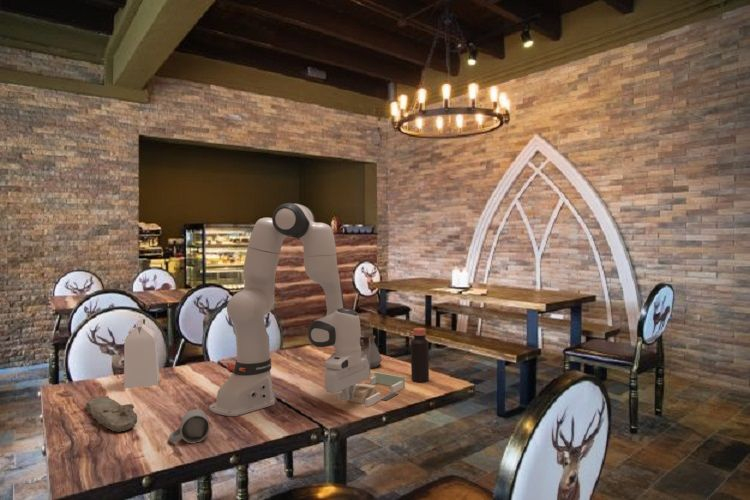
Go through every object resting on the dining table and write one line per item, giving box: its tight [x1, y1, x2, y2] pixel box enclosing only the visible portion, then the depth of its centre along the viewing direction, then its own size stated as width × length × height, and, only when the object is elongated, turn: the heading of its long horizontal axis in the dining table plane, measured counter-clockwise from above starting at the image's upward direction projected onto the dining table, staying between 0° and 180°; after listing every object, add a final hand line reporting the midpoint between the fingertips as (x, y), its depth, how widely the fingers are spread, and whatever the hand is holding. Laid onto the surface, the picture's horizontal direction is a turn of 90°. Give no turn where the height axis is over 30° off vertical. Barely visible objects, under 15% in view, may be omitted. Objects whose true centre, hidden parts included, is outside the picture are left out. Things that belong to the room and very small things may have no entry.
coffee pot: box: [370, 334, 383, 369], centre depth 212 cm, size 21×12×15 cm, turn 34°
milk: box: [123, 316, 160, 390], centre depth 186 cm, size 12×12×26 cm
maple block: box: [347, 382, 377, 405], centre depth 166 cm, size 9×6×4 cm, turn 148°
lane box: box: [336, 371, 406, 408], centre depth 171 cm, size 24×13×4 cm, turn 146°
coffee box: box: [360, 333, 372, 373], centre depth 195 cm, size 9×6×16 cm
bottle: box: [410, 327, 430, 383], centre depth 186 cm, size 7×7×20 cm
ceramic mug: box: [168, 409, 211, 444], centre depth 135 cm, size 11×8×8 cm
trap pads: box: [364, 382, 399, 402], centre depth 173 cm, size 12×17×1 cm
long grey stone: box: [85, 395, 138, 433], centre depth 153 cm, size 35×5×10 cm
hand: (348, 398), depth 159 cm, fingers closed
